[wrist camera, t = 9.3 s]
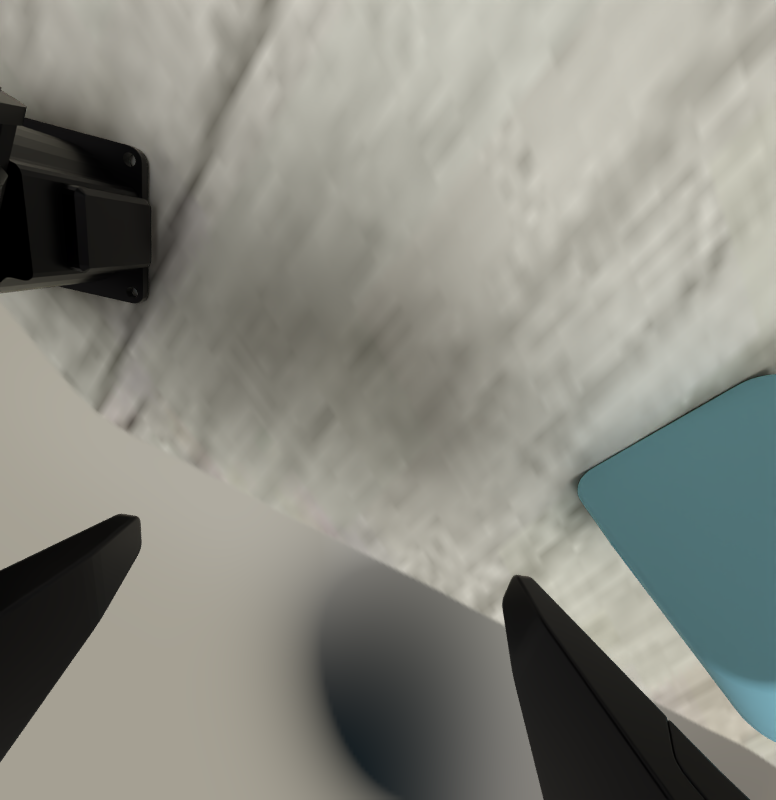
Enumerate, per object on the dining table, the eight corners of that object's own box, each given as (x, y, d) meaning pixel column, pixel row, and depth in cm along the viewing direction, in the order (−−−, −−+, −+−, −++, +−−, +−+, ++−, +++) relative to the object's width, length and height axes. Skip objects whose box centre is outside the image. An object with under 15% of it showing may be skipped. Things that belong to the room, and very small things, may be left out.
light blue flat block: (598, 527, 24) (781, 771, 13) (565, 480, 23) (739, 708, 12) (793, 424, 21) (1238, 620, 10) (769, 364, 20) (1256, 514, 9)
